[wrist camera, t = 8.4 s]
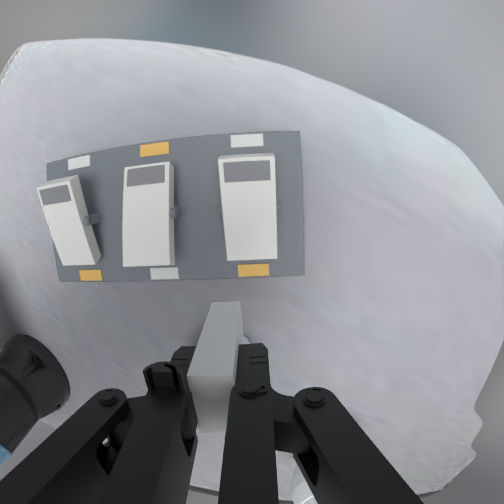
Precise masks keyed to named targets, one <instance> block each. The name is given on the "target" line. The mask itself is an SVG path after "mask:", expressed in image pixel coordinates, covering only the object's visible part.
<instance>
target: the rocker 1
mask: <svg viewBox="0 0 504 504" xmlns="http://www.w3.org/2000/svg"><path fill="white" fill-rule="evenodd" d="M37 191H38V195H39V198H40V202H41V205H42V208H43V211H44V215H45V218H46V221H47V224H48V228H49V230H50V232H51V235H52V238H53V241H54V243H55V246H56V249H57V251H58V254H59V257H60V259H61V262H62V264H63V266H68V265H95V264H96V263H97V261H98V260H99V258H100V257H101V254H100V251H99V248H98V245H97V242H96V238H95V235H94V232H93V229H92V225H91V218H90V216H89V215H88V212H87V208H86V204H85V201H84V197H83V193H82V189H81V185H80V181H79V177H78V175H74V176H69V177H64V178H60V179H55V180H50V181H46V182H44V183H42V184H41V185H40V186H38V187H37Z"/></svg>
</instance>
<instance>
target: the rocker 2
mask: <svg viewBox="0 0 504 504" xmlns="http://www.w3.org/2000/svg"><path fill="white" fill-rule="evenodd" d="M176 217H177V209H176V208H174V166H173V165H172V164H171V163H170V162H161V163H153V164H145V165H138V166H131V167H125V169H124V187H123V212H122V213H121V215H120V218H121V221H122V243H123V267H136V266H165V265H175V251H174V218H176Z"/></svg>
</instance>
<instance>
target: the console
mask: <svg viewBox="0 0 504 504" xmlns="http://www.w3.org/2000/svg"><path fill="white" fill-rule="evenodd" d="M259 153H274V156H275V179H276V202H280V203H281V212H276V216H277V259H259V260H236V261H227V252H226V243H225V232H224V222H223V215H219V214H218V205H220V204H222V201H221V190H220V178H219V166H218V158H219V157H220V156H224V155H240V154H259ZM161 162H170V163H171V164H172V165H173V166H174V208H176V209H177V217H176V218H174V251H175V265H165V266H136V267H123V243H122V221H121V218H120V215H121V213H122V212H123V187H124V169H125V167H131V166H138V165H145V164H153V163H161ZM74 175H78V177H79V181H80V185H81V189H82V193H83V197H84V201H85V204H86V208H87V212H88V215H89V216H90V218H91V225H92V229H93V232H94V235H95V238H96V242H97V245H98V248H99V251H100V254H101V257H100V258H99V260H98V261H97V263H96V264H95V265H68V266H63V264H62V262H61V259H60V257H59V254H58V251H57V249H56V246H55V243H54V241H53V245H54V252H55V258H56V264H57V269H58V275H59V280H60V282H112V281H167V280H202V279H231V278H256V277H278V276H298V275H305V263H304V210H303V182H302V161H301V142H300V131H273V132H249V133H232V134H219V135H207V136H197V137H187V138H179V139H171V140H163V141H156V142H149V143H142V144H136V145H130V146H124V147H119V148H113V149H108V150H103V151H98V152H93V153H88V154H83V155H79V156H75V157H70V158H66V159H62V160H58V161H54V162H50V163H47V181H50V180H55V179H60V178H64V177H69V176H74Z"/></svg>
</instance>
